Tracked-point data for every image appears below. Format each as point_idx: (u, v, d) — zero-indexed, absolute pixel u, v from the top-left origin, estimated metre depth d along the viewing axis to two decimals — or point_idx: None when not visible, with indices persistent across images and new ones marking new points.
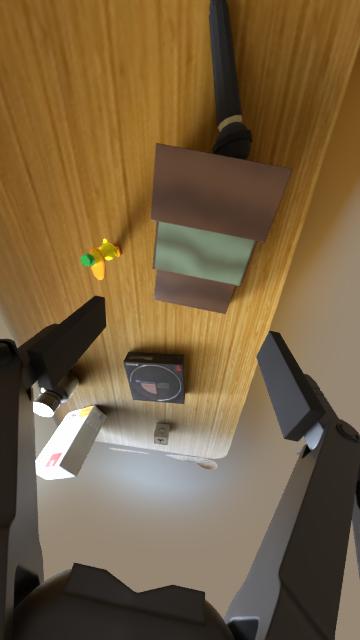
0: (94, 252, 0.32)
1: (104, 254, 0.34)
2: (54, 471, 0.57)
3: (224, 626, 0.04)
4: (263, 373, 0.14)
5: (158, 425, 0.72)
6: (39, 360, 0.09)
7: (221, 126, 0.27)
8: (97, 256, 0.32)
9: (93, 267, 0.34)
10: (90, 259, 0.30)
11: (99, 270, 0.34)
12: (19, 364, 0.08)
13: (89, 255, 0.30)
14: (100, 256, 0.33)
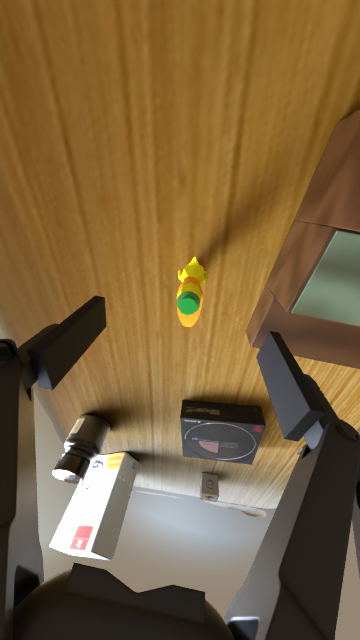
0: (193, 286, 0.18)
1: None
2: (83, 553, 0.44)
3: (224, 626, 0.04)
4: (263, 373, 0.14)
5: (204, 476, 0.58)
6: (39, 360, 0.09)
7: None
8: (199, 294, 0.18)
9: None
10: (195, 303, 0.16)
11: (191, 313, 0.20)
12: (19, 364, 0.08)
13: (192, 295, 0.16)
14: (200, 292, 0.18)
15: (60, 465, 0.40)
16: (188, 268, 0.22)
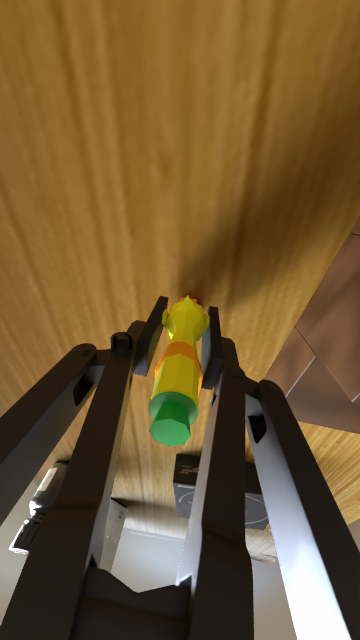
0: (183, 367, 0.09)
1: (195, 350, 0.11)
2: None
3: None
4: (202, 342, 0.16)
5: None
6: (144, 350, 0.11)
7: None
8: (195, 383, 0.09)
9: None
10: (187, 421, 0.07)
11: None
12: (131, 357, 0.10)
13: (180, 399, 0.08)
14: (197, 372, 0.10)
15: (19, 540, 0.31)
16: (177, 313, 0.13)
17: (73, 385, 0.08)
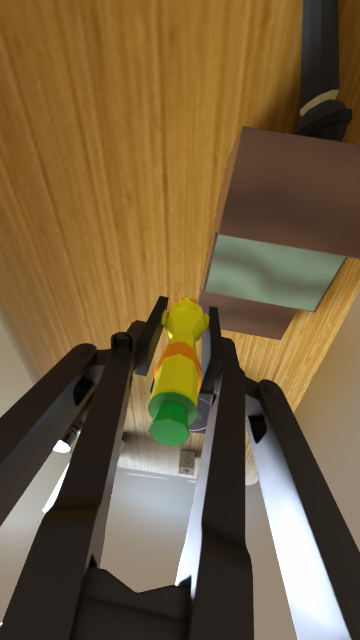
0: (182, 367, 0.09)
1: (195, 350, 0.11)
2: None
3: None
4: (202, 342, 0.16)
5: (182, 452, 0.65)
6: (144, 350, 0.11)
7: (308, 106, 0.20)
8: (194, 383, 0.09)
9: None
10: (186, 421, 0.07)
11: None
12: (131, 357, 0.10)
13: (179, 400, 0.08)
14: (196, 373, 0.10)
15: None
16: (177, 313, 0.13)
17: (74, 385, 0.08)
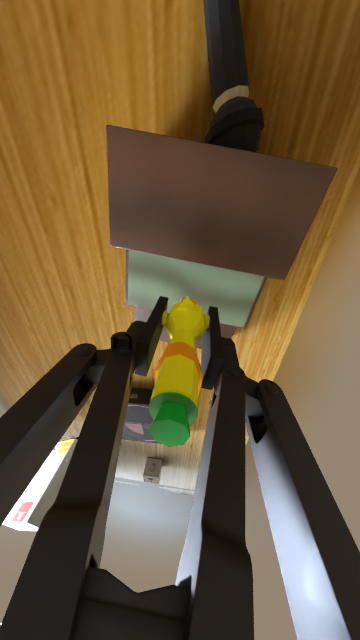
0: (183, 368, 0.09)
1: (195, 351, 0.11)
2: (23, 525, 0.49)
3: None
4: (202, 342, 0.16)
5: (149, 460, 0.63)
6: (144, 350, 0.11)
7: (218, 104, 0.18)
8: (195, 383, 0.09)
9: None
10: (187, 421, 0.07)
11: None
12: (131, 357, 0.10)
13: (179, 400, 0.08)
14: (197, 373, 0.10)
15: None
16: (177, 313, 0.13)
17: (73, 385, 0.08)
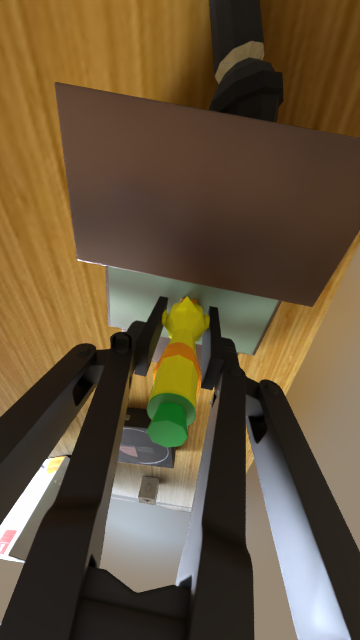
0: (182, 368, 0.09)
1: (195, 351, 0.11)
2: (5, 557, 0.44)
3: None
4: (202, 342, 0.16)
5: (144, 479, 0.59)
6: (144, 350, 0.11)
7: (222, 70, 0.13)
8: (193, 384, 0.09)
9: None
10: (184, 422, 0.07)
11: None
12: (131, 357, 0.10)
13: (177, 401, 0.08)
14: (196, 374, 0.10)
15: None
16: (177, 313, 0.13)
17: (73, 385, 0.08)
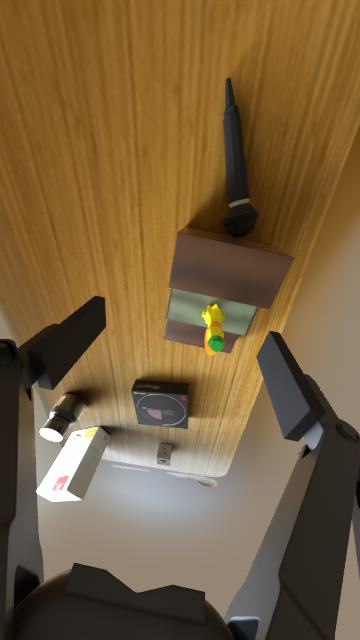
0: (218, 330, 0.26)
1: None
2: (61, 494, 0.59)
3: (224, 626, 0.04)
4: (263, 373, 0.14)
5: (161, 446, 0.74)
6: (39, 360, 0.09)
7: (231, 205, 0.30)
8: (222, 335, 0.25)
9: (207, 342, 0.28)
10: (221, 343, 0.24)
11: None
12: (19, 364, 0.08)
13: (218, 338, 0.24)
14: (222, 333, 0.26)
15: (46, 426, 0.56)
16: (210, 311, 0.30)
17: None
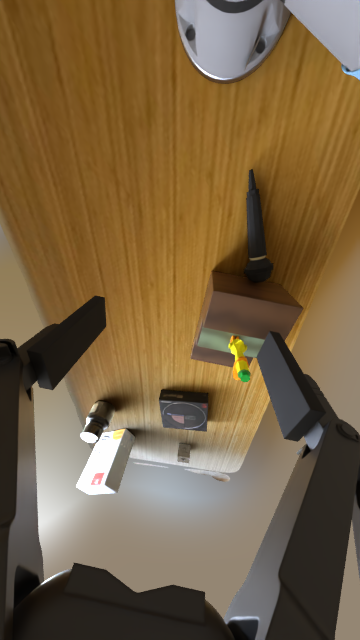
0: (244, 363, 0.33)
1: None
2: (98, 488, 0.68)
3: (224, 626, 0.04)
4: (263, 373, 0.14)
5: (180, 445, 0.83)
6: (39, 360, 0.09)
7: (251, 259, 0.38)
8: None
9: (235, 371, 0.35)
10: (248, 376, 0.32)
11: None
12: (19, 364, 0.08)
13: (246, 371, 0.32)
14: (247, 365, 0.34)
15: (85, 430, 0.65)
16: (236, 345, 0.38)
17: None
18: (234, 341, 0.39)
